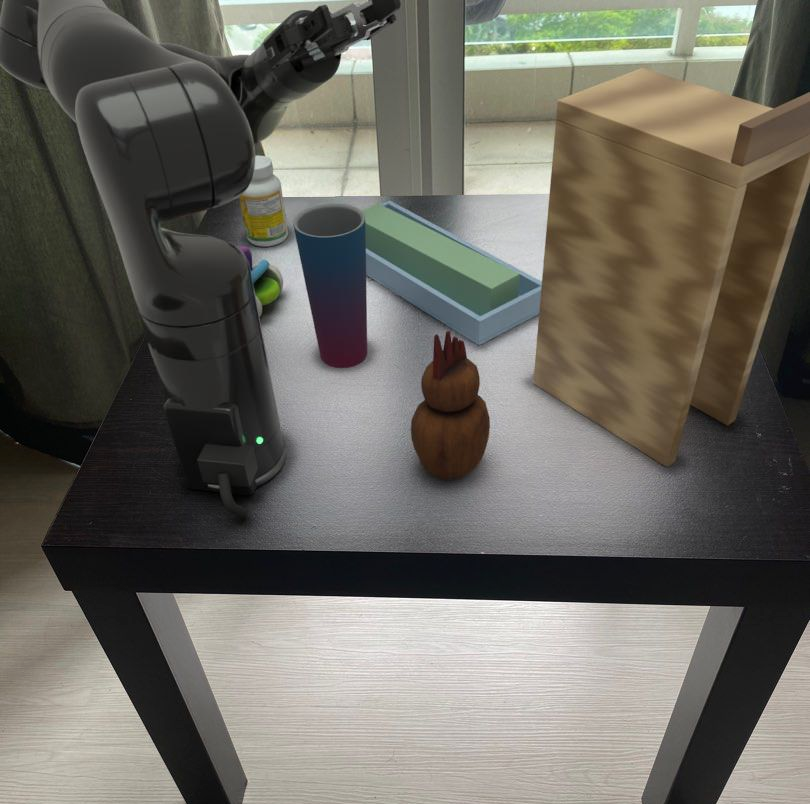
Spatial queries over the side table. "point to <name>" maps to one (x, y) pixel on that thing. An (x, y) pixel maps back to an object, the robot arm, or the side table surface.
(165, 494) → the side table surface
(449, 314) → the tray
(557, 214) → the stand
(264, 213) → the supplement bottle
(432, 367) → the wooden figurine
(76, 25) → the robot arm
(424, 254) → the long sage green bar
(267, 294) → the multicolored plastic toy
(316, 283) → the cup
